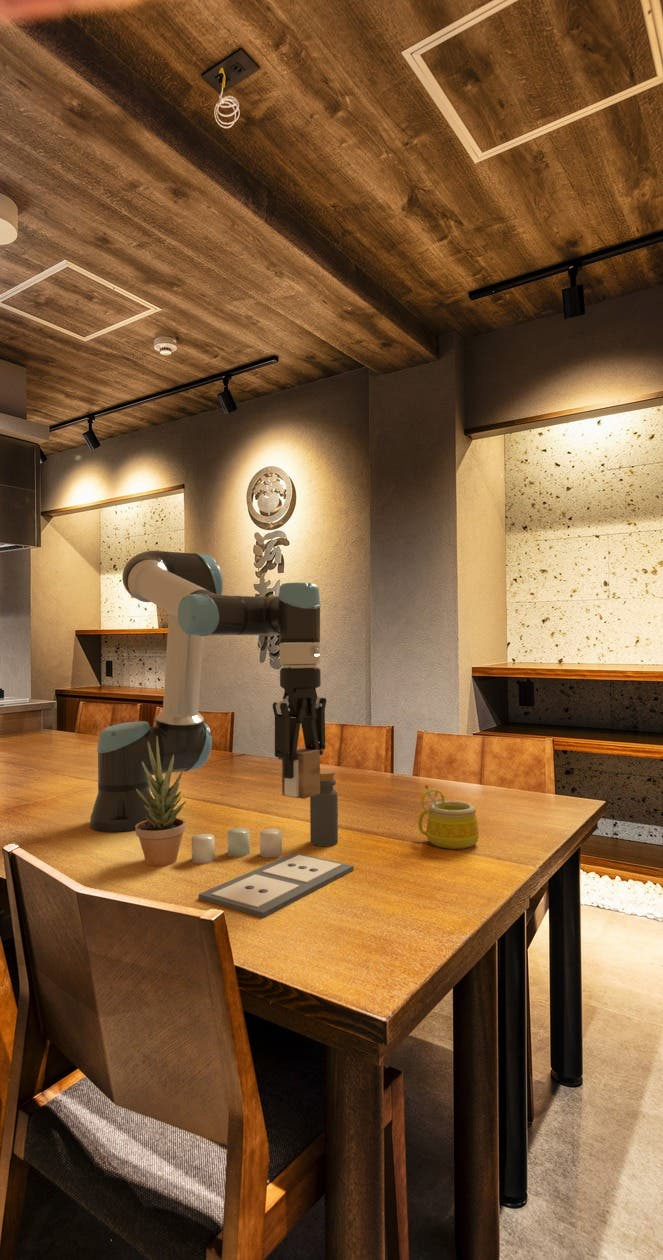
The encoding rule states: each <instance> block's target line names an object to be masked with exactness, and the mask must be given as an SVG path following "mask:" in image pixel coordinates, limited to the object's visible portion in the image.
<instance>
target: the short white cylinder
mask: <svg viewBox="0 0 663 1260" xmlns="http://www.w3.org/2000/svg"><path fill="white" fill-rule="evenodd" d="M259 852H260V853H259V854H260V857H262V858H265V859H266V858H267V859H268V858H269V859H272V858H273V859H274V858H279V857H281V856H282V855H283V831H282V830H281V829H278V828H267V829H263V830H260V832H259Z"/></svg>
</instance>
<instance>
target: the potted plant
mask: <svg viewBox="0 0 663 1260" xmlns="http://www.w3.org/2000/svg"><path fill="white" fill-rule="evenodd" d="M148 750H149V756H150V760H151V765H152V768H153V772H154V775H151V774H150V773H149V771H148V769H147V768H146V766H145V765H144V763H143V762H142V765H143V768H144V771H145V773H146V775H147V777H148V779H149V780H148V784H149V788H150V792H151V794H150V796H151V797H149V796H148V795H146V794H145V793H143V792H142V793H141V792H140V791H139V790H138V789H137V788H136V791H137V793H138V794H139V795H140V797H141V798H142V799H143V800H144V801H145V802H146V803H147V805H148V806H149V808H148V807H147V806H145V805H144V807H145V808H146V809H147V811H148V812H149V815H150V817H151V818H152V819H150V818H149V817H148V816H146V817H147V819H148V820H147V821H143V822H141V823H138V824H137V825H136V826H135V828H136V830H135V835H136V836H137V838H138V840H139V843H140V846H141V849H142V852H143V855H144V861H145V863H146V864H147V865H148V866H150V867H151V866H152V867H161V866H168V865H171V864H174V863H176V862H177V861H178V855H179V851H180V846H181V842H182V838H183V835H184V834H183V833H185V831H186V821H185V819H182V818H180V817H179V818H177V816H178V815H179V813H180V812H181V811H182V809H183V808H184V805H185V804H186V802H187V801H186V800H185V801H184V802H183V803H181V804H180V805H178V804H179V802H180V801H181V799H182V798H181V797H180V795H181V793H182V791H179V787H180V781H181V778H182V775H183V772H182V771H181V772H180V774H179V775H178V777H177V779H176V781H175V782H174V783H173V784H172V785H171V787H170V784H171V778H172V773H173V772H172V768H173V762H174V754H173V757H172V759H171V761H170V764H169V767H168V770H167V772H166V773H164V774H165V776H164V777H163V774H162V767H161V762H160V754H159V745H158V737H157V738H156V752H157V766H156V762H155V759H154V756H153V753H152V751H151V747H150V744H149V742H148ZM153 776H154V777H153ZM178 791H179V792H178ZM147 799H148V800H149V801H150V803H151V804H150V803H149V801H148V800H147ZM177 805H178V806H177ZM176 806H177V807H176Z"/></svg>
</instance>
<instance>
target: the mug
mask: <svg viewBox="0 0 663 1260" xmlns="http://www.w3.org/2000/svg"><path fill="white" fill-rule="evenodd" d="M424 788H425V789H426V790H427V791H425V792H424V793H423V795H422V797H421V800H420V804H421V807H422V809H423V811H422V812H421V813H420V814H419V817H418V821H417V822H418V823H417V824H418V830H419V832H420V833H421V834H422V835H424V836H426V837H427V840H428V842H430V843H431V844H432V845H433V846H436V847H439V848H443V849H448V850H449V849H450V850H459V849H461V850H463V849H467V848H471V847H473V846H475V845H476V844H477V843H478V840H479V837H480V835H479V825H478V824H479V823H478V818H477V815H476V811H477V809H476V808H475V806H474V805H473V804H471V803H468V802H464V801H457V800H445V796H444V794H443V793H442V791H440V790H438V789H435V788H433V789H429V785H428V784H425V785H424ZM431 792H434V796H433V795H432V793H431ZM439 794H440V796H441V798H440V799H436V798H437V796H438V795H439ZM426 796H427V797H429V799H430V801H429V800H428V801H425V800H424V799H425V797H426ZM435 799H436V800H435ZM425 804H430V805H429V807H428V808H427V809H426V808H425ZM427 814H428V817H427V825H426V830H424V828H423V819H424V816H425V815H427Z"/></svg>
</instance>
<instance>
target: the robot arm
mask: <svg viewBox="0 0 663 1260" xmlns="http://www.w3.org/2000/svg"><path fill="white" fill-rule="evenodd" d="M121 575H122V577H121V578H122V583H123V587H124V589H125V591H126V592H127V593H128V594H129V595H130V596H132V597H133V598H134V599H136V600H138V601H140V602H144V603H152V604H154V605H156V606H157V607H159V608H160V609H162V610H163V611H165V612H166V613H167V614H168V620H167V621H168V623H167V638H166V639H167V640H166V655H165V670H164V673H165V674H164V688H163V689H164V690H163V702H162V711H160V712H159V713H158V714H157V716H155V725H153V726H151V725H150V723H149V722H148V721H144V720H141V721H140V720H137V721H129V722H122V723H118V724H113V725H111V726H107V727H105V728H104V729H102V730H101V731H100V732H99V734H98V739H97V740H98V742H97V743H98V744H97V749H96V752H97V789H98V790H97V795H96V798H95V801H94V805H93V808H92V812H91V813H90V818H89V820H90V821H89V822H90V823H89V825H90V828H92V829H93V830H95V831H101V832H110V833H111V832H113V833H114V832H127V831H128V832H129V831H136V828H135V826H136V825H137V824H138V823H141V822H143V821H147V820H148V819H147V817H146V816H148V817H149V818H150V819H152V818H151V817H150V815H149V812H148V811H147V809H146V808H145V807H144V805H145V806H147V807H148V808H149V806H148V805H147V803H146V802H145V801H144V800H143V799H142V798H141V797H140V795H139V794H138V793H137V791H136V788H137V789H138V790H139V791H140V792H141V793H142V792H143V793H145V794H146V795H148V796H149V797H151V796H150V794H152V792H151V790H150V788H149V784H148V780H149V779H148V777H147V775H146V773H145V771H144V768H143V765H142V762H143V763H144V765H145V766H146V768H147V769H148V771H149V773H150V774H151V776H155V775H154V772H153V768H152V765H151V760H150V756H149V750H148V742H149V744H150V747H151V751H152V753H153V756H154V759H155V762H156V766H157V752H156V738H157V737H158V745H159V754H160V762H161V767H162V775H164V774H166V772H167V770H168V767H169V764H170V761H171V759H172V757H173V754H174V762H173V768H172V773H179V772H180V773H181V771H182V773H184V772H186V773H187V772H188V771H192V770H197V769H200V768H201V767H203V766H204V765H205V764H206V763H207V761H208V759H209V758H210V755H211V751H212V744H213V741H212V740H213V738H212V736H211V734H212V732H211V729H210V727H209V725H208V724H207V723H205V722H204V721H205V720H204V719H205V718H204V716H202V714H201V713H200V712H199V706H200V693H201V692H200V689H201V676H202V661H203V649H204V648H203V647H204V646H203V645H204V637H206V636H258V637H259V636H260V637H264V636H265V637H269V636H270V637H271V636H279V665H281V666H282V667H281V668H280V669H279V686H280V687H281V688H282V689H283V690H284V693H283V697H282V700H280V701H279V702H276V701H275V702H273V704H272V710H273V714H274V757H275V758H277V759H279V760H281V761H282V760H283V776H284V778H285V795H286V796H285V797H289V796H293V797H292V798H295V797H298V796H299V760H295V758H296V751H297V748H298V743H299V736H300V728H301V731H302V736H303V742H304V749H312V750H320V756H322V755H323V754H324V750H325V749H326V718H325V717H326V713H325V711H326V706H327V698H326V697H319V696H318V694H317V689H318V688H319V687H320V686H321V683H322V682H321V680H322V679H321V669H320V667H318V665H320V664H321V645H320V643H321V607H322V606H321V605H322V604H321V602H320V599H321V598H320V588H319V586H318V585H317V584H315V583H313V582H286V583H281V585H280V586H279V591H278V595H277V596H254V595H253V596H251V595H250V596H249V595H228V594H227V595H225V594H223V588H224V587H223V586H224V582H223V581H224V580H223V574H222V570H221V568H220V566H219V564H218V562H217V561H216V560H215V558H214V557H212V556H210V555H207V554H201V553H196V552H194V553H193V552H180V551H179V552H177V551H164V550H147V551H142V552H140V553H138V554H136V555H134V556H133V557H132V558H130V559H129V560H128V562H127V563H126V564H125V565H124V568H123V571H122V574H121ZM289 752H290V753H289ZM147 800H148V799H147ZM148 801H149V800H148ZM149 803H150V801H149ZM150 804H151V803H150Z"/></svg>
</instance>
